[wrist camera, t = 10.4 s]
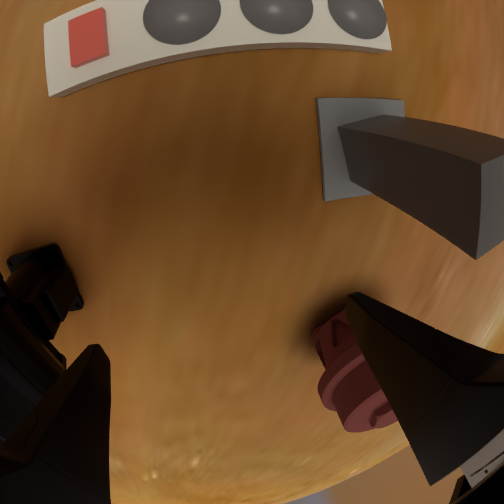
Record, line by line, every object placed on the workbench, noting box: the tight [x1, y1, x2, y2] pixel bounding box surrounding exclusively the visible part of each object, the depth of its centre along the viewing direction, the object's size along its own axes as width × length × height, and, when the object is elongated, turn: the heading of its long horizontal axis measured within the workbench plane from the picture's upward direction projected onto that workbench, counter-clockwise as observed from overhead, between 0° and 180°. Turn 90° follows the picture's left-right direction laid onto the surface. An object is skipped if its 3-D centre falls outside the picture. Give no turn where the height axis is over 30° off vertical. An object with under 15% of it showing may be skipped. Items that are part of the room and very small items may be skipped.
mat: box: [316, 98, 405, 201], centre depth 20 cm, size 8×8×1 cm
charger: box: [337, 115, 504, 260], centre depth 14 cm, size 5×4×13 cm
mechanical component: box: [312, 307, 398, 432], centre depth 24 cm, size 12×10×10 cm
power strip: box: [44, 0, 392, 97], centre depth 13 cm, size 24×6×3 cm, turn 97°
